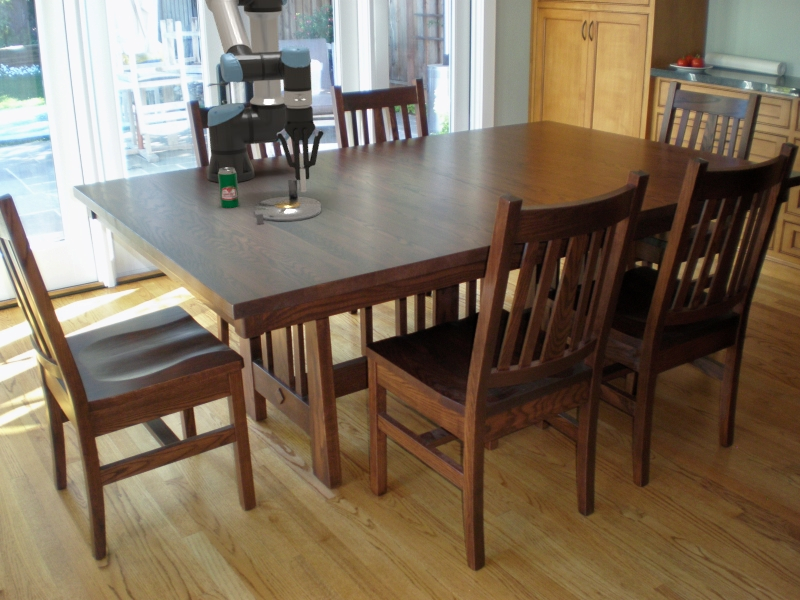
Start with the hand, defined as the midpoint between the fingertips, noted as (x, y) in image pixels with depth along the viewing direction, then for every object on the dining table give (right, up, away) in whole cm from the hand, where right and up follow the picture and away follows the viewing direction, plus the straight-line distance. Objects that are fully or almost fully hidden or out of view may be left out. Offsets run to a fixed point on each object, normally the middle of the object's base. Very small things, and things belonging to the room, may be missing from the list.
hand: (303, 190), depth 233 cm
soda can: (-21, -6, +1) cm, 21 cm away
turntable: (-3, -7, -6) cm, 10 cm away
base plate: (-3, -8, -5) cm, 10 cm away
